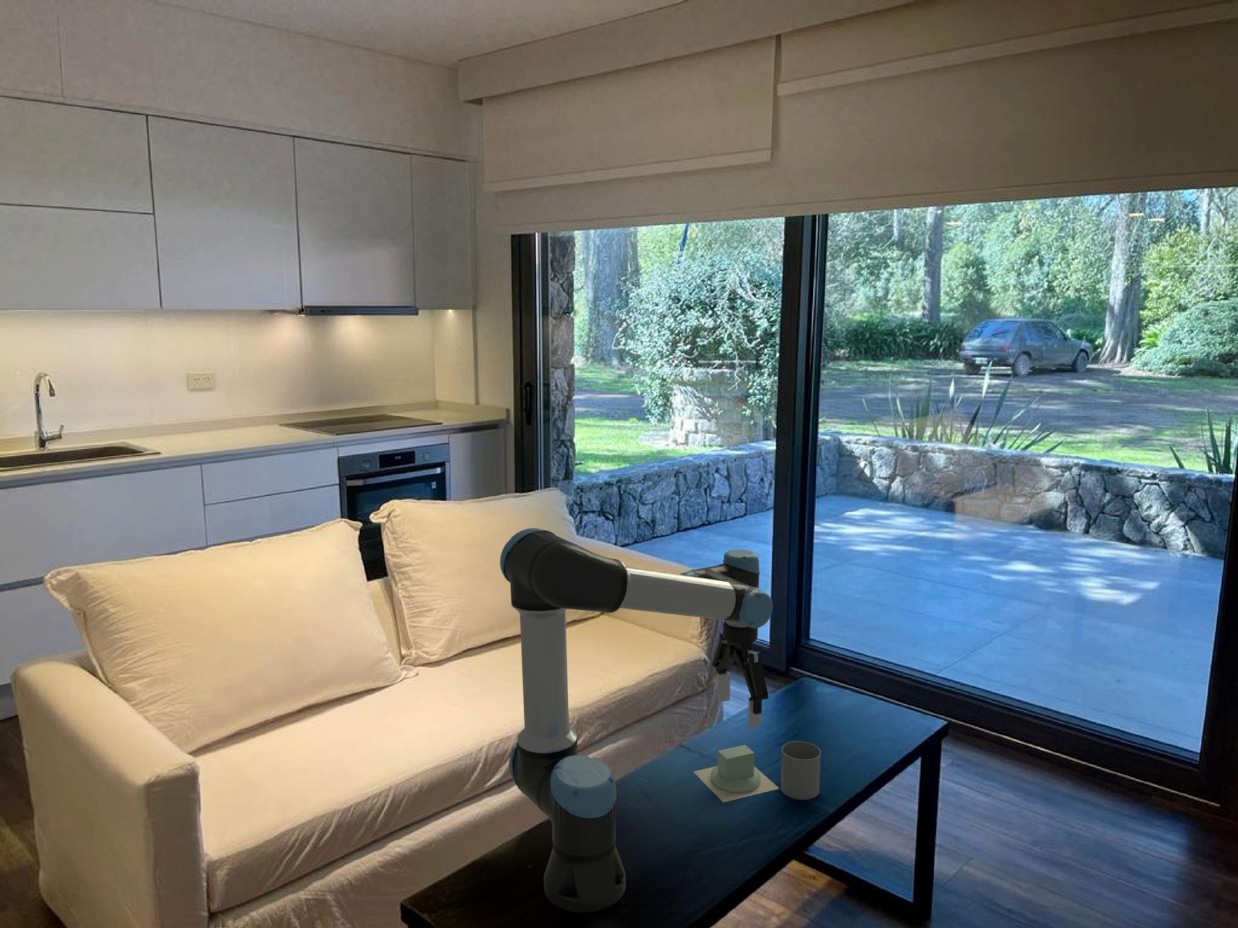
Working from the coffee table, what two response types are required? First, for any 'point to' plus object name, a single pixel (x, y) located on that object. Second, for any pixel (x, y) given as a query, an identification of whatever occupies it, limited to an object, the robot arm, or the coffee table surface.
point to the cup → (800, 770)
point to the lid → (736, 770)
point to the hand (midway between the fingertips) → (738, 713)
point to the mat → (728, 796)
